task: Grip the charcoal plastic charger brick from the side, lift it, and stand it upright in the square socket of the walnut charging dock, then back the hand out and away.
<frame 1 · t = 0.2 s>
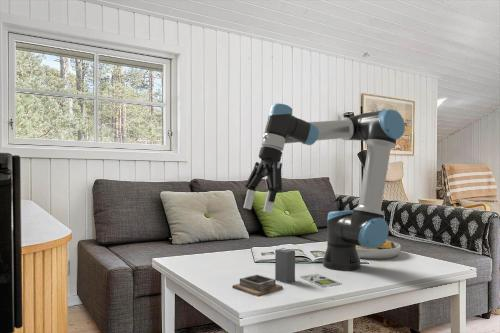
hand: (256, 210, 133), 27 cm above the table, tool tilted 15°, fingers open, 13 cm apart
handheld gaming device: (319, 281, 146), on the table
charging dock: (257, 288, 136), on the table
bowl: (367, 254, 193), on the table
charger: (285, 280, 146), on the table
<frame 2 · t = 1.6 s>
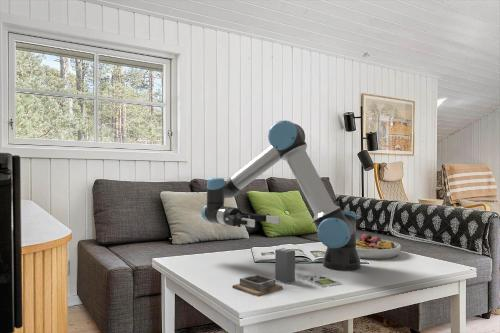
hand: (267, 222, 152), 20 cm above the table, tool horizontal, fingers open, 13 cm apart
nothing on the table moved.
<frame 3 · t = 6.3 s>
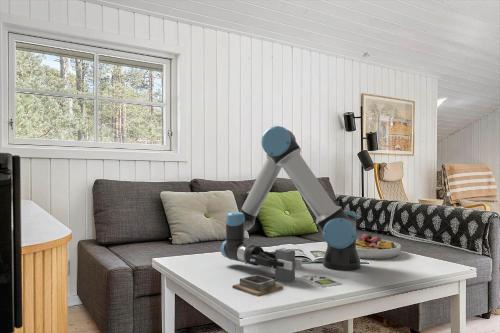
hand: (296, 265, 142), 7 cm above the table, tool horizontal, fingers closed on charger, 4 cm apart
charger: (285, 280, 146), on the table, touching gripper
everything else where it was.
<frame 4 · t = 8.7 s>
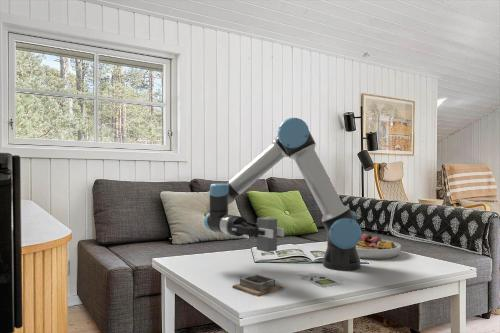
hand: (277, 233, 137), 18 cm above the table, tool horizontal, fingers closed on charger, 4 cm apart
charger: (266, 250, 141), point 12 cm above the table, touching gripper
everything else where it was.
when the fingers open (9 cm above the table, at t = 11.2 s): charger drops 1 cm, resting on charging dock.
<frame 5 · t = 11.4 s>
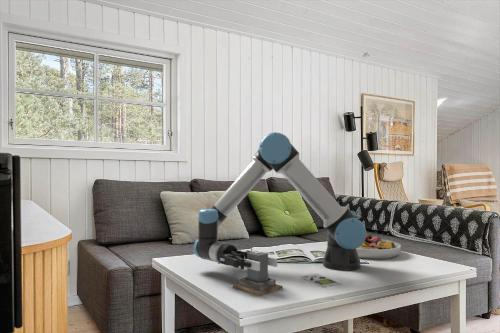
hand: (267, 264, 133), 9 cm above the table, tool horizontal, fingers open, 7 cm apart
charger: (257, 285, 136), point 1 cm above the table, touching charging dock
everything else where it was.
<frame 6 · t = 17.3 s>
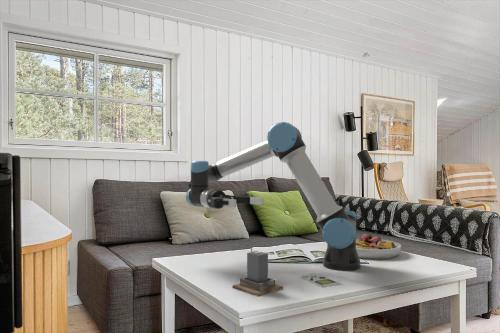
hand: (249, 202, 148), 28 cm above the table, tool horizontal, fingers open, 13 cm apart
nothing on the table moved.
at the end: charger 0.1 cm off-centre on the charging dock, point 0.8 cm above the charging dock's base; charger tilted 0°; the gripper is holding nothing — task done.
